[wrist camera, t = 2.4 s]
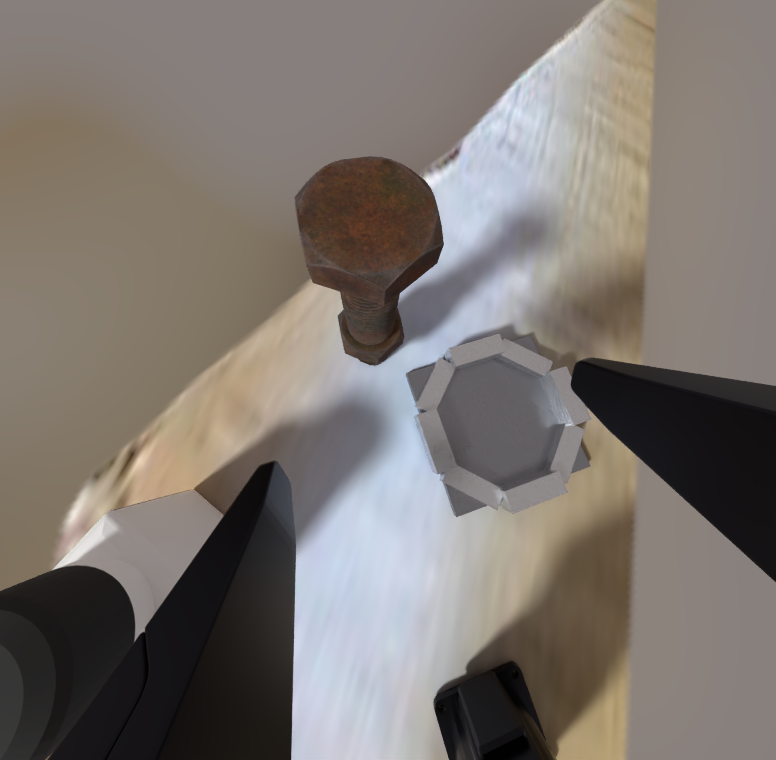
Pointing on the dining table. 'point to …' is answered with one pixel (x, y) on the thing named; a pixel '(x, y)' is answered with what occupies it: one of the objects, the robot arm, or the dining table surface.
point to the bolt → (368, 245)
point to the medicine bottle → (89, 616)
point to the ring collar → (499, 424)
